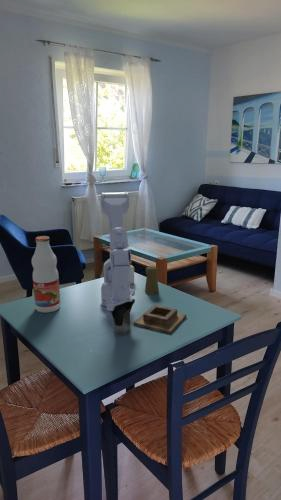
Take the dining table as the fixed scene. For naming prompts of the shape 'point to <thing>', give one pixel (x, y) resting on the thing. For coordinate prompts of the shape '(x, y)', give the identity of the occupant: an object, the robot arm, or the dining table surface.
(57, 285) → the fruit juice
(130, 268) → the eye dropper bottle
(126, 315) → the metal pin
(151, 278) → the cork
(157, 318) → the socket holder
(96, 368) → the dining table surface
